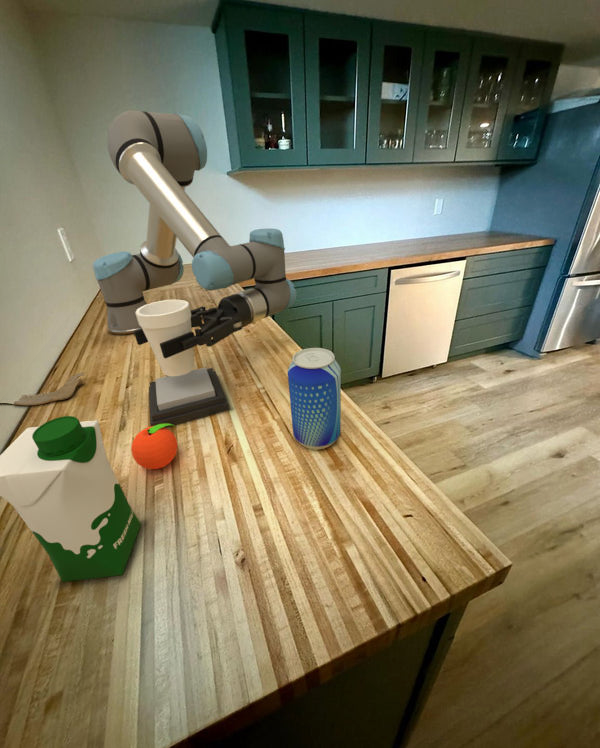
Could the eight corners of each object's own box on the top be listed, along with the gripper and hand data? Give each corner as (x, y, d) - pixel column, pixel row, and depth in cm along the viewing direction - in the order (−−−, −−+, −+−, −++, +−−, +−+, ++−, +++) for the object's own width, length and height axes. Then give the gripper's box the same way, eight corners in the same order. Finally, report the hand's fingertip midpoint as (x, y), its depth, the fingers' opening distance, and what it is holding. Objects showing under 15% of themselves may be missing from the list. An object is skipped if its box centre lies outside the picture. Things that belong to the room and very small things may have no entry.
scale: (150, 393, 76) (147, 381, 75) (216, 377, 81) (214, 366, 80) (152, 431, 64) (148, 418, 63) (229, 409, 69) (227, 397, 67)
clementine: (172, 440, 62) (162, 408, 58) (195, 455, 58) (185, 423, 54) (130, 466, 56) (116, 433, 53) (152, 485, 52) (138, 451, 49)
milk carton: (127, 582, 40) (56, 456, 30) (49, 591, 39) (-51, 467, 29) (150, 517, 47) (99, 400, 37) (84, 525, 47) (15, 408, 37)
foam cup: (188, 381, 64) (171, 316, 57) (145, 379, 66) (124, 316, 59) (210, 358, 72) (197, 299, 65) (171, 357, 74) (154, 299, 67)
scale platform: (157, 385, 74) (155, 378, 73) (207, 373, 78) (205, 367, 77) (159, 412, 65) (157, 404, 64) (216, 397, 69) (214, 390, 68)
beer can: (345, 425, 62) (345, 347, 54) (334, 457, 55) (333, 373, 47) (302, 418, 65) (296, 343, 57) (286, 447, 58) (278, 366, 50)
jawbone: (88, 396, 78) (84, 389, 76) (-22, 428, 70) (-28, 421, 69) (87, 377, 84) (84, 370, 83) (-13, 404, 76) (-18, 397, 75)
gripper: (277, 335, 72) (185, 379, 58) (215, 316, 85) (128, 348, 71) (274, 301, 68) (175, 339, 54) (210, 286, 81) (117, 314, 67)
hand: (148, 344), depth 62 cm, fingers closed on foam cup, 9 cm apart
